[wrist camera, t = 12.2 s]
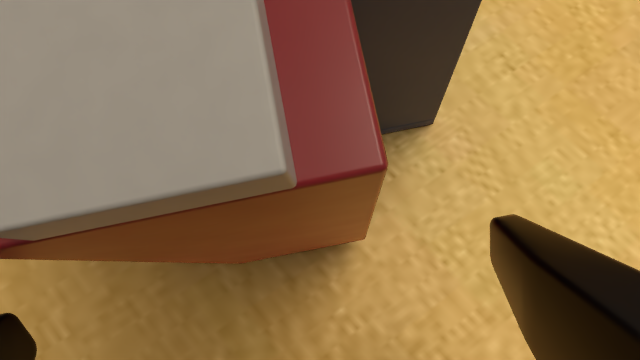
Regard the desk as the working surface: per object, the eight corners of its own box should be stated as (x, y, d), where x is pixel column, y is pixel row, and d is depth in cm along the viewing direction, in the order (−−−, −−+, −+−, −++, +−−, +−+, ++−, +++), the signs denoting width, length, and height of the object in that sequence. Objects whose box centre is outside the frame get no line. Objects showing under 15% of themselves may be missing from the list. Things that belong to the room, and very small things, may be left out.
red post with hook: (365, 239, 17) (397, 150, 4) (238, 264, 17) (-131, 259, 4) (325, 47, 19) (253, -461, 6) (209, 72, 19) (-121, -363, 6)
